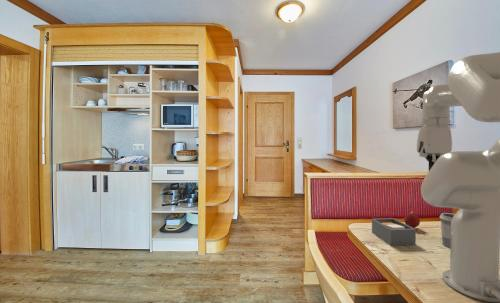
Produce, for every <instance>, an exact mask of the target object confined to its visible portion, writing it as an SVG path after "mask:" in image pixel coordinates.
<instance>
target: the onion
mask: <svg viewBox="0 0 500 303" xmlns="http://www.w3.org/2000/svg"><path fill="white" fill-rule="evenodd" d="M403 221H404V222H403V223H404V224H406V225H408V226H410V227H412V228H414V229H416V228H417V227H418V226H420V221H421V220H420V218H419V217H418V215H416V214H415V212H414V211H411V212H409V213H407V214H406V215H405V216H404V219H403Z"/></svg>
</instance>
